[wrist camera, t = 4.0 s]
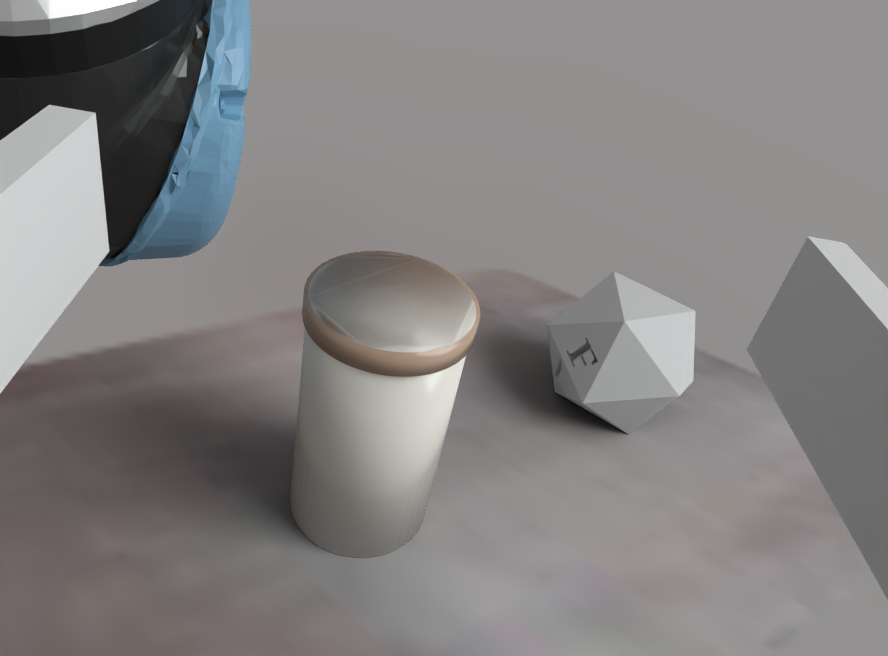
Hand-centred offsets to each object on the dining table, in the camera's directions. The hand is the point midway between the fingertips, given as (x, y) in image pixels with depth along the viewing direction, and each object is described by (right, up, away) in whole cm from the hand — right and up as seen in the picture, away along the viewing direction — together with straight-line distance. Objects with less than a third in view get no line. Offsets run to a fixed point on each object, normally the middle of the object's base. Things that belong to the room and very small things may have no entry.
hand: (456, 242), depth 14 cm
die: (+9, -6, +31) cm, 33 cm away
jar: (-4, -10, +21) cm, 24 cm away
